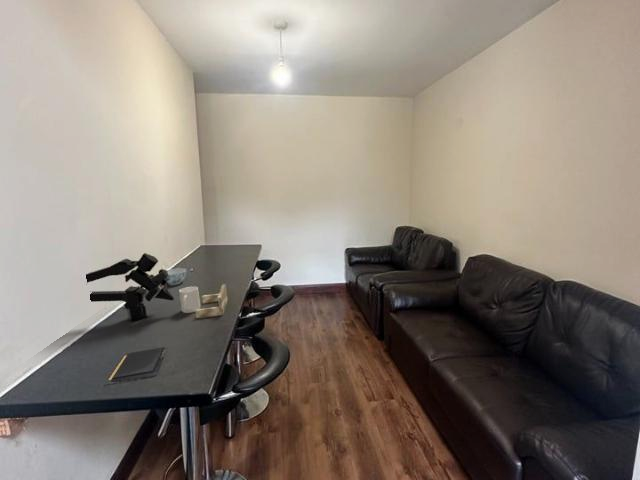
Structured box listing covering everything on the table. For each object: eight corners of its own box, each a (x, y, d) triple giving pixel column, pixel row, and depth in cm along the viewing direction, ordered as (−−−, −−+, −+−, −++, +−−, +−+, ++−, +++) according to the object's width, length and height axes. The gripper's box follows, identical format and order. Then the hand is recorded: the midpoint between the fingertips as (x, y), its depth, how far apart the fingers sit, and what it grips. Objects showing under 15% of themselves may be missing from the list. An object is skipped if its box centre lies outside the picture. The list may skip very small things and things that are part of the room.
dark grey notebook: (155, 373, 103) (100, 382, 100) (156, 378, 103) (101, 388, 101) (169, 343, 122) (124, 351, 120) (170, 348, 123) (125, 355, 120)
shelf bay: (196, 318, 148) (193, 301, 147) (203, 302, 168) (201, 286, 167) (223, 314, 150) (221, 297, 149) (227, 299, 170) (225, 284, 169)
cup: (202, 305, 164) (199, 285, 162) (195, 315, 152) (192, 293, 150) (185, 307, 163) (182, 287, 161) (176, 317, 151) (173, 295, 150)
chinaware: (163, 282, 212) (161, 270, 211) (188, 278, 216) (187, 267, 215) (159, 289, 198) (157, 276, 197) (187, 284, 202) (185, 272, 201)
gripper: (148, 270, 142) (180, 292, 146) (160, 261, 161) (188, 280, 164) (131, 291, 143) (163, 312, 146) (145, 279, 161) (174, 298, 164)
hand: (173, 299), depth 155 cm, fingers closed
